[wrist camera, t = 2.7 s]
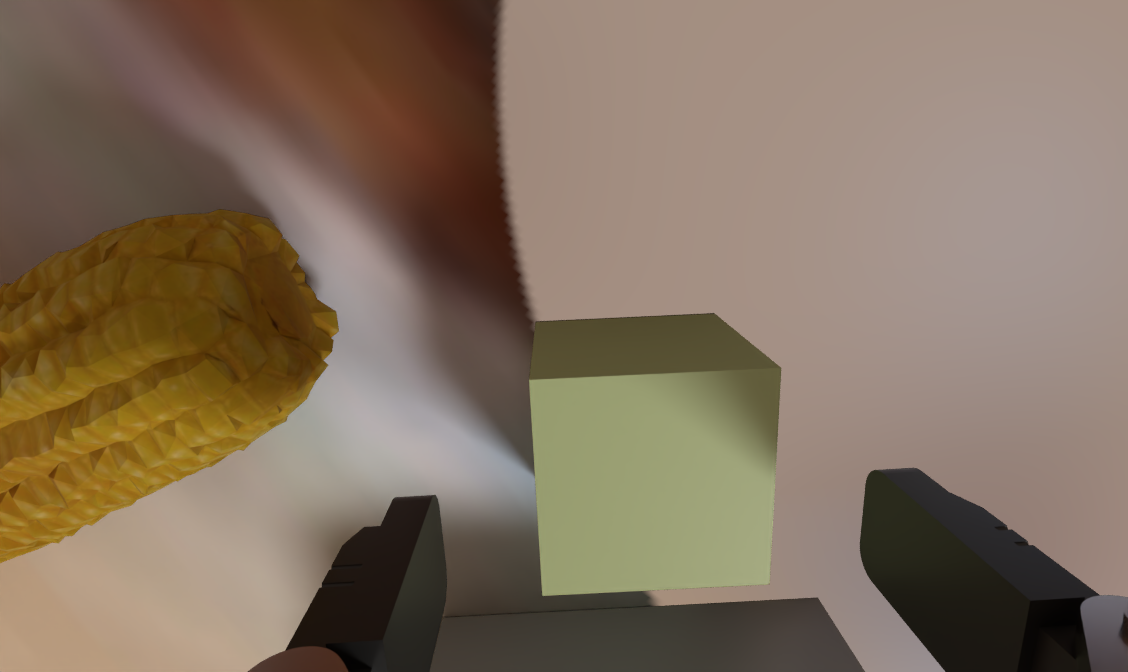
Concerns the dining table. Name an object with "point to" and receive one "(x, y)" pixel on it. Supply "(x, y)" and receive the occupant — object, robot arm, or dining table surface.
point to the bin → (650, 640)
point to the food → (147, 365)
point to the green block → (652, 454)
